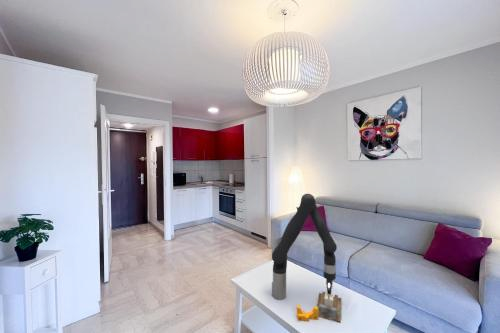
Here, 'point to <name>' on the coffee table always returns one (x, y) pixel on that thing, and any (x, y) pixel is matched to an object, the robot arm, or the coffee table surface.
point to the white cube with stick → (328, 300)
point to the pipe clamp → (307, 314)
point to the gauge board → (329, 308)
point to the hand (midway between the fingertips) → (329, 296)
